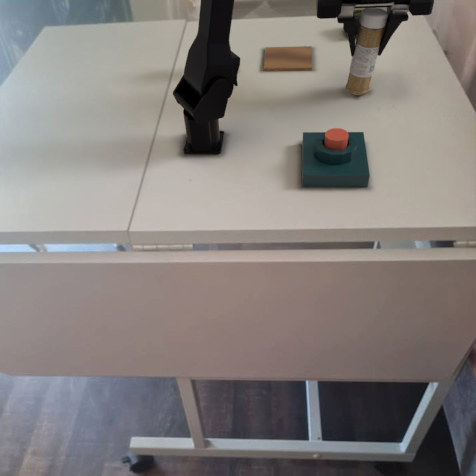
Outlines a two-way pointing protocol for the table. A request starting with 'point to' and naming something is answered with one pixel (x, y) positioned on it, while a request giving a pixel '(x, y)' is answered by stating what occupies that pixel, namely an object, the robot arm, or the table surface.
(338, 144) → the red button cap
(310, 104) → the table surface
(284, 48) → the coaster
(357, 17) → the tape measure
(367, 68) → the sprinkles bottle
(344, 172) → the teal push button base
